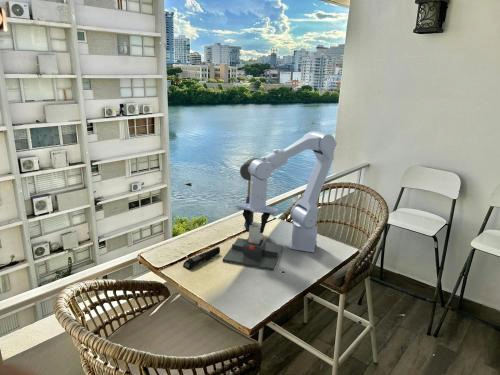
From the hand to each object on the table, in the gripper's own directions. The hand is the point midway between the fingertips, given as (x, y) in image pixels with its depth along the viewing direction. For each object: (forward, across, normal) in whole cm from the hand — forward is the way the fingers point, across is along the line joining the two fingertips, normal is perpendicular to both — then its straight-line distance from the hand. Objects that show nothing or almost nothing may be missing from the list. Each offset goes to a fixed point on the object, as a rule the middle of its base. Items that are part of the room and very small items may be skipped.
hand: (255, 231), depth 128 cm
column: (+6, 0, 0) cm, 6 cm away
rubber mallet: (+9, -8, +21) cm, 24 cm away
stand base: (+9, 0, 0) cm, 9 cm away
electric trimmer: (+10, -16, -11) cm, 22 cm away
